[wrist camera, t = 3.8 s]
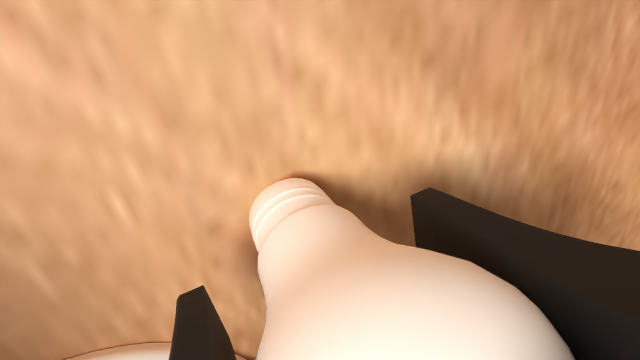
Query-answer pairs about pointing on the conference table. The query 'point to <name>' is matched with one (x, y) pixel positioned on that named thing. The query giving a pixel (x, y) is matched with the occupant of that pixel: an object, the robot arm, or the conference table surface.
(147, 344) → the saucer
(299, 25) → the conference table surface
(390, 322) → the lightbulb
